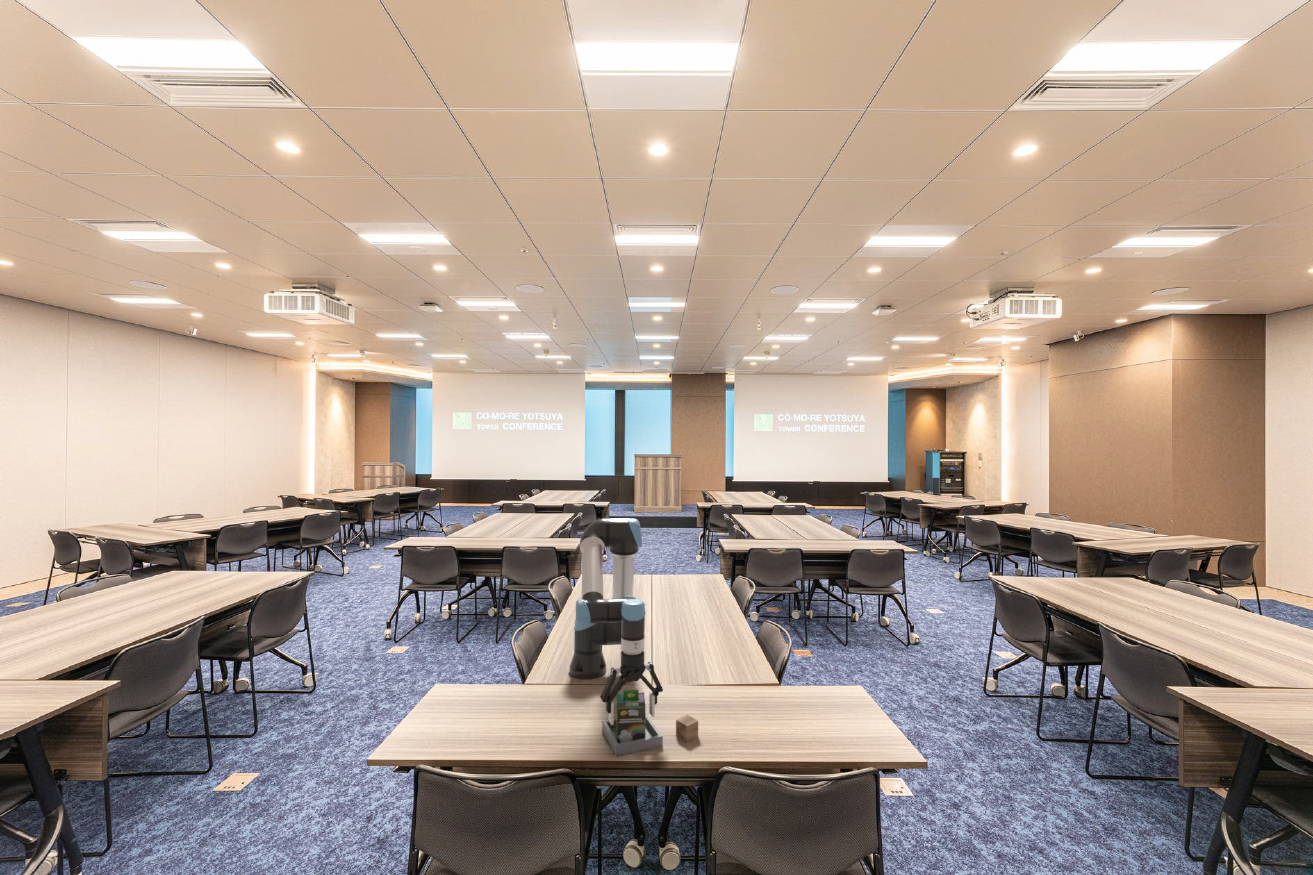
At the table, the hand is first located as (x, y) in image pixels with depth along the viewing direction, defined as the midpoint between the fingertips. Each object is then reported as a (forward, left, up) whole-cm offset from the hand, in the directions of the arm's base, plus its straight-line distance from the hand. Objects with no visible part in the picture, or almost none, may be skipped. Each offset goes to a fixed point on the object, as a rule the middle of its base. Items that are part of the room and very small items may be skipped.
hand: (631, 718), depth 156 cm
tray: (0, 0, -6) cm, 6 cm away
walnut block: (+5, +17, -6) cm, 19 cm away
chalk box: (0, 0, -6) cm, 6 cm away
